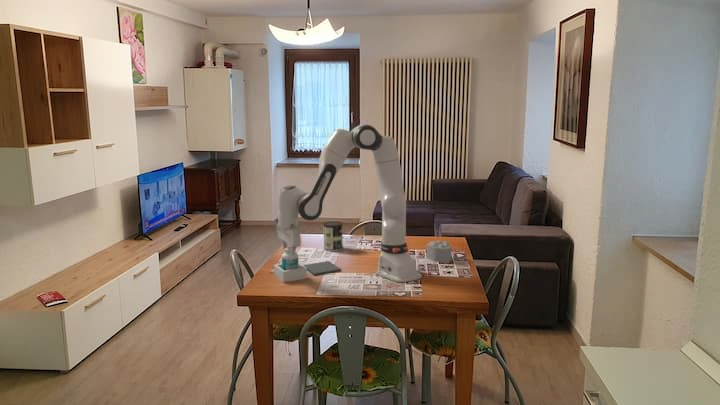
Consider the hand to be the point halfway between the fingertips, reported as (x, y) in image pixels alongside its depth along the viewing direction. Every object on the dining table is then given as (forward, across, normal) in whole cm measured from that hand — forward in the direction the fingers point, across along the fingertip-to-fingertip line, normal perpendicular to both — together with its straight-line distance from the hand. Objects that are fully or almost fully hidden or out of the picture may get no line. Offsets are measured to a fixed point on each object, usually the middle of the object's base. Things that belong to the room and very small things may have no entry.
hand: (288, 251), depth 253 cm
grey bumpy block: (+11, -12, -77) cm, 78 cm away
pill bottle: (+12, 0, 0) cm, 12 cm away
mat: (+12, +3, -18) cm, 21 cm away
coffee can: (+12, +31, -37) cm, 50 cm away
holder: (+12, 0, 0) cm, 12 cm away
